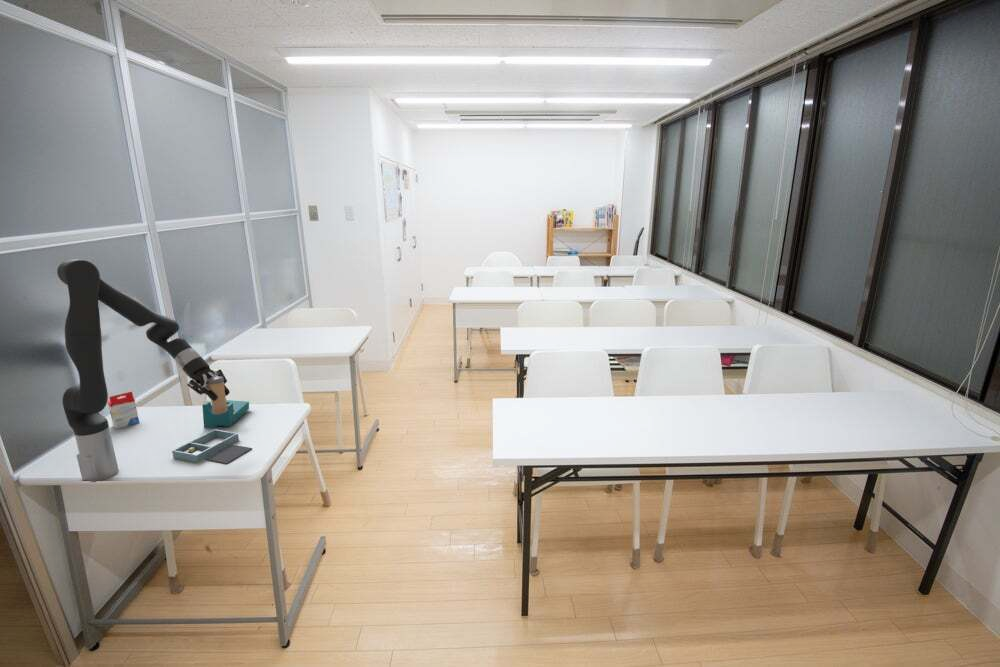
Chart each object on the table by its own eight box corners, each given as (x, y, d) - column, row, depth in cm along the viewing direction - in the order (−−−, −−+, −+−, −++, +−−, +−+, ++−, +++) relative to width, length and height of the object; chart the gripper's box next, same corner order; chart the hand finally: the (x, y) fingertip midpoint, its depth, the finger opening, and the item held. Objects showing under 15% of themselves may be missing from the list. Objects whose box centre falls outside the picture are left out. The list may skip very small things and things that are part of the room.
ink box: (136, 419, 216) (130, 388, 212) (139, 422, 213) (133, 391, 209) (112, 426, 210) (105, 394, 206) (115, 429, 207) (108, 397, 203)
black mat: (226, 464, 179) (226, 463, 179) (205, 460, 182) (205, 458, 182) (252, 449, 190) (252, 448, 190) (231, 445, 193) (231, 444, 193)
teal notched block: (230, 429, 209) (228, 406, 206) (203, 427, 208) (202, 404, 205) (249, 411, 226) (248, 390, 223) (225, 410, 225) (224, 388, 223)
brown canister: (220, 414, 181) (215, 381, 177) (209, 413, 182) (204, 380, 179) (231, 409, 185) (226, 377, 182) (220, 408, 187) (215, 375, 183)
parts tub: (197, 462, 180) (196, 455, 179) (173, 457, 183) (171, 450, 183) (239, 440, 197) (237, 433, 197) (215, 435, 201) (214, 429, 200)
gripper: (179, 362, 174) (210, 397, 174) (212, 351, 187) (242, 384, 187) (170, 375, 177) (201, 410, 176) (203, 363, 190) (232, 395, 190)
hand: (222, 396), depth 182 cm, fingers closed on brown canister, 4 cm apart
